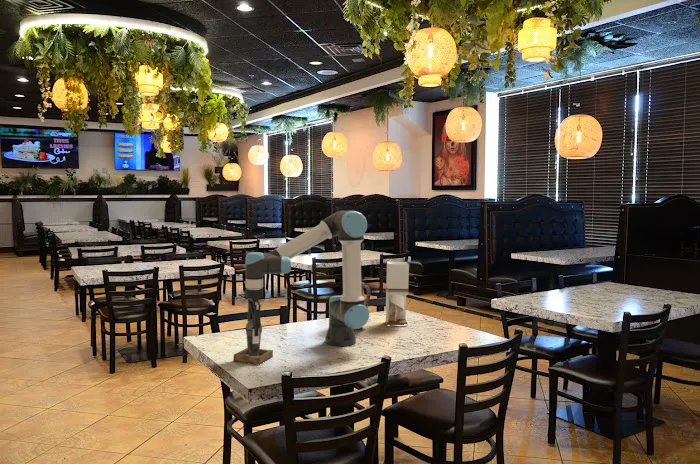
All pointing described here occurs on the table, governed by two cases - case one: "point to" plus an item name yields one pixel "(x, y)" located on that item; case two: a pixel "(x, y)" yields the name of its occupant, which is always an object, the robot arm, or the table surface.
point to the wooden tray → (259, 359)
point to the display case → (396, 292)
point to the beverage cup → (252, 348)
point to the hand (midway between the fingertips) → (253, 341)
